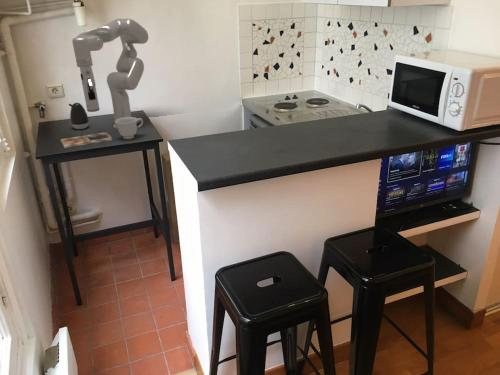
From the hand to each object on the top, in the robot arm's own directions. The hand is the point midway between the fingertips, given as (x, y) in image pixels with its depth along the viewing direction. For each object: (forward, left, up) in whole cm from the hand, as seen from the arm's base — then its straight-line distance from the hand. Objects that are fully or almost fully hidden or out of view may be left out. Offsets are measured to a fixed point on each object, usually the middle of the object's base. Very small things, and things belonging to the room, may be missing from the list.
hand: (91, 97), depth 221 cm
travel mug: (0, 0, -7) cm, 7 cm away
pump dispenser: (+5, -27, -23) cm, 35 cm away
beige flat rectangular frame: (+6, 0, -22) cm, 23 cm away
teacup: (-16, +7, -23) cm, 29 cm away
